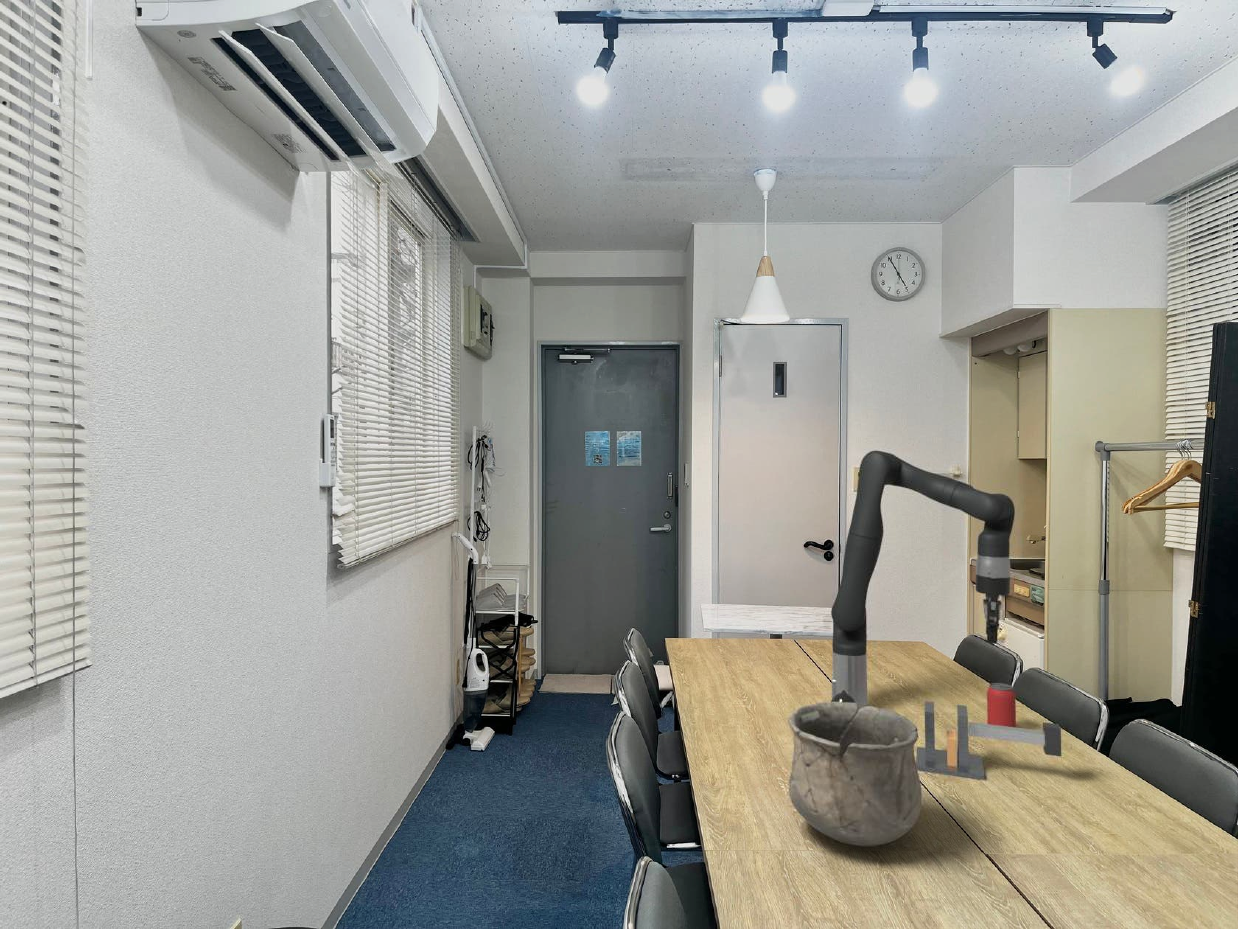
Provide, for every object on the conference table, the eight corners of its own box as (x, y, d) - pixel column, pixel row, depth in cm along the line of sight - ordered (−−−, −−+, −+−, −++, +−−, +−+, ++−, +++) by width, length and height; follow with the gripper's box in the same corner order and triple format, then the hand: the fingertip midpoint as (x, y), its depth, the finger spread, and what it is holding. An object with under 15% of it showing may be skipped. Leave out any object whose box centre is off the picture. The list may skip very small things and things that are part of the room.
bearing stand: (915, 770, 161) (915, 713, 161) (917, 750, 172) (916, 697, 172) (984, 780, 155) (983, 721, 155) (981, 759, 166) (980, 705, 166)
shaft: (969, 744, 160) (968, 718, 160) (968, 739, 163) (968, 713, 163) (1061, 756, 153) (1060, 729, 153) (1059, 751, 156) (1058, 724, 156)
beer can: (1019, 737, 179) (1019, 690, 180) (992, 735, 181) (991, 689, 181) (1011, 728, 186) (1010, 682, 186) (984, 726, 187) (983, 681, 187)
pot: (846, 882, 117) (844, 754, 117) (763, 819, 139) (761, 711, 139) (953, 849, 127) (951, 731, 127) (861, 795, 149) (859, 694, 149)
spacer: (947, 765, 161) (946, 739, 161) (947, 755, 166) (946, 730, 166) (957, 766, 160) (956, 740, 160) (956, 756, 165) (955, 731, 165)
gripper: (975, 569, 181) (974, 631, 181) (976, 576, 169) (974, 643, 169) (1008, 571, 178) (1007, 635, 178) (1011, 579, 165) (1010, 647, 165)
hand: (991, 639), depth 173 cm, fingers open, 8 cm apart
